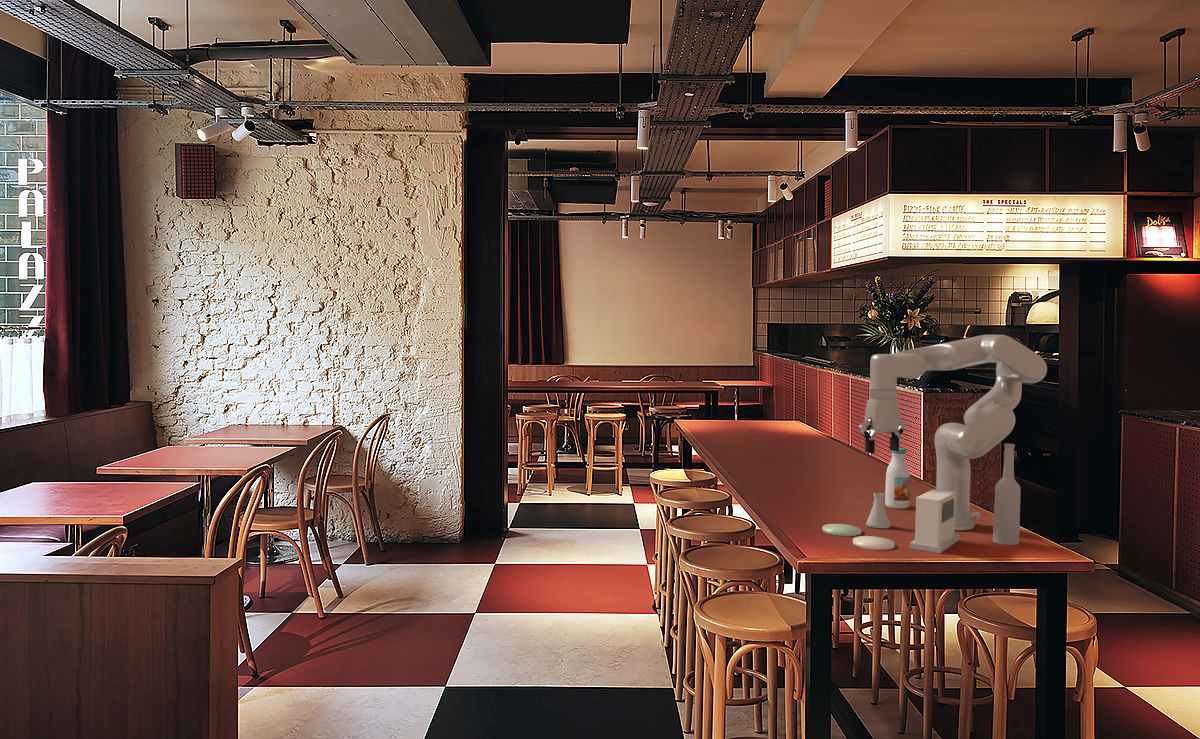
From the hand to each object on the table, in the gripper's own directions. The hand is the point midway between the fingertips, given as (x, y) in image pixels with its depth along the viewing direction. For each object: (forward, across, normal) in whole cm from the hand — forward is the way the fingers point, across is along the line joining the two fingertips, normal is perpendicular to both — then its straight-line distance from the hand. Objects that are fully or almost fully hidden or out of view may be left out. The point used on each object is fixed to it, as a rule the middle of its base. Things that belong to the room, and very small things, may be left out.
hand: (882, 451), depth 242 cm
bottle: (+24, -20, +27) cm, 41 cm away
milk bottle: (+24, -27, -20) cm, 41 cm away
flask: (+23, 0, -2) cm, 23 cm away
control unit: (+23, 0, +20) cm, 31 cm away
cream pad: (+23, +17, +14) cm, 32 cm away
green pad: (+23, +15, -1) cm, 27 cm away
